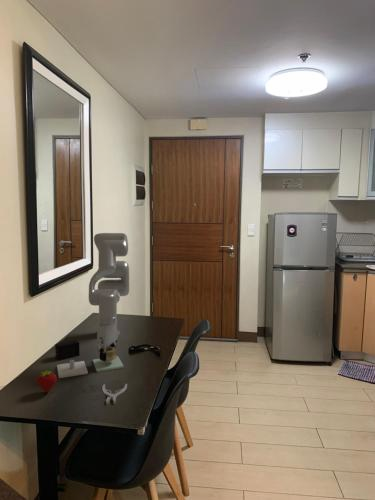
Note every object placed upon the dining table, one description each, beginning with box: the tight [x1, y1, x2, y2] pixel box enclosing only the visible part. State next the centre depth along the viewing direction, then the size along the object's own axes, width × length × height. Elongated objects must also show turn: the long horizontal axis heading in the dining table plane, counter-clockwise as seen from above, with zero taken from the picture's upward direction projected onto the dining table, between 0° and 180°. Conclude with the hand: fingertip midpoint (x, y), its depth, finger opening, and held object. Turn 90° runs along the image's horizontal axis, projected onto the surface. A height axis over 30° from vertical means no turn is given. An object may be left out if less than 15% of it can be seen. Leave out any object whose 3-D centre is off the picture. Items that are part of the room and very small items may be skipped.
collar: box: [102, 345, 117, 361], centre depth 171 cm, size 7×7×4 cm
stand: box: [56, 359, 89, 379], centre depth 166 cm, size 12×12×4 cm
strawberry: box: [36, 370, 58, 393], centre depth 145 cm, size 6×8×10 cm
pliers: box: [101, 383, 128, 405], centre depth 146 cm, size 10×2×15 cm
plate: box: [92, 355, 125, 373], centre depth 172 cm, size 12×12×5 cm
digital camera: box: [54, 339, 80, 361], centre depth 181 cm, size 10×5×7 cm, turn 127°
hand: (107, 357), depth 172 cm, fingers closed on collar, 7 cm apart
